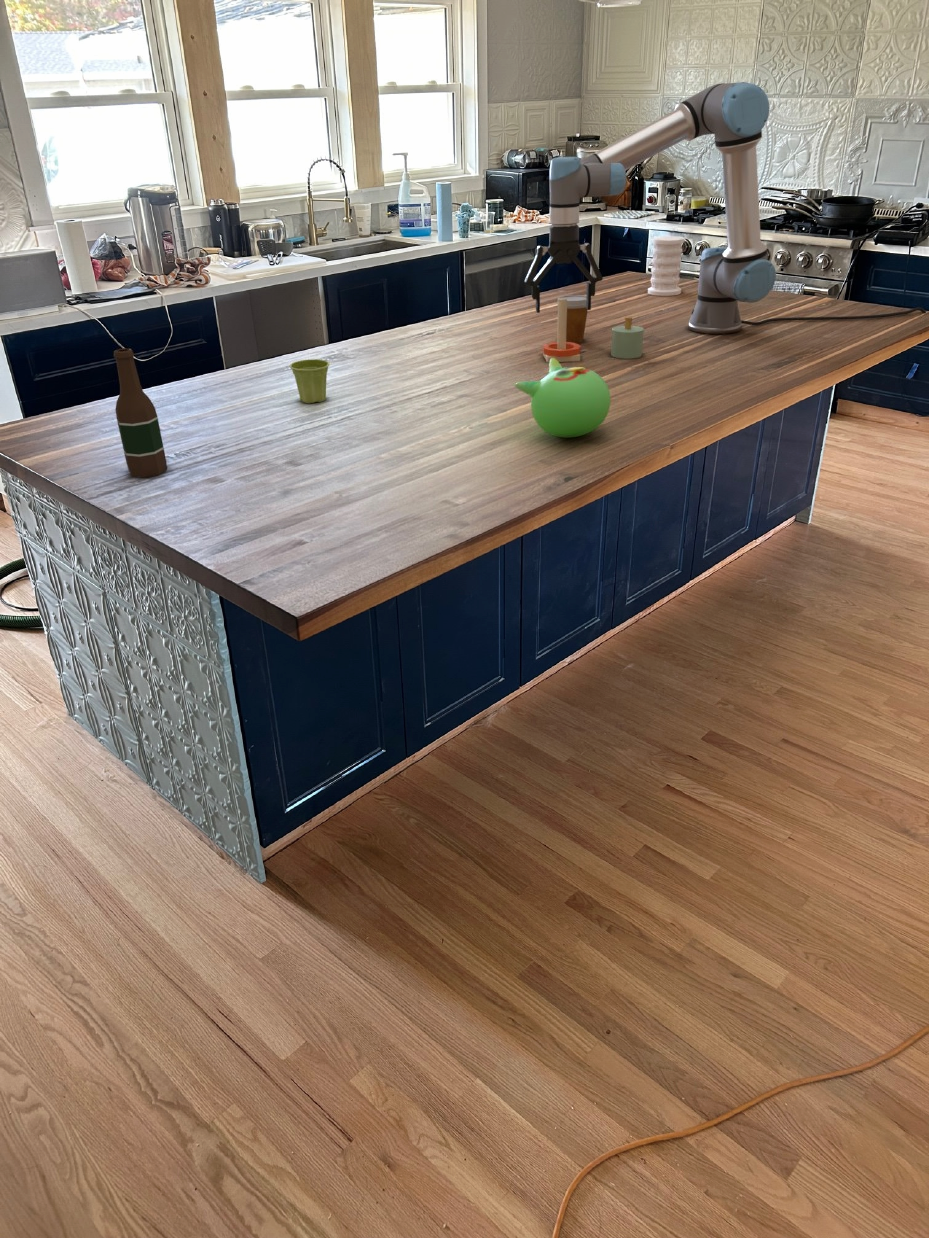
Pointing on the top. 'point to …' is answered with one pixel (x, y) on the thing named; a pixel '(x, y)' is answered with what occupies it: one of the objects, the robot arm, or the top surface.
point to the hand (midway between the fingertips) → (563, 310)
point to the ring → (552, 349)
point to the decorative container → (666, 265)
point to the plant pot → (311, 379)
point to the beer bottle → (137, 422)
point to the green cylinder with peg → (627, 340)
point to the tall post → (562, 333)
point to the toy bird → (568, 400)
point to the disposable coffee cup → (575, 317)
